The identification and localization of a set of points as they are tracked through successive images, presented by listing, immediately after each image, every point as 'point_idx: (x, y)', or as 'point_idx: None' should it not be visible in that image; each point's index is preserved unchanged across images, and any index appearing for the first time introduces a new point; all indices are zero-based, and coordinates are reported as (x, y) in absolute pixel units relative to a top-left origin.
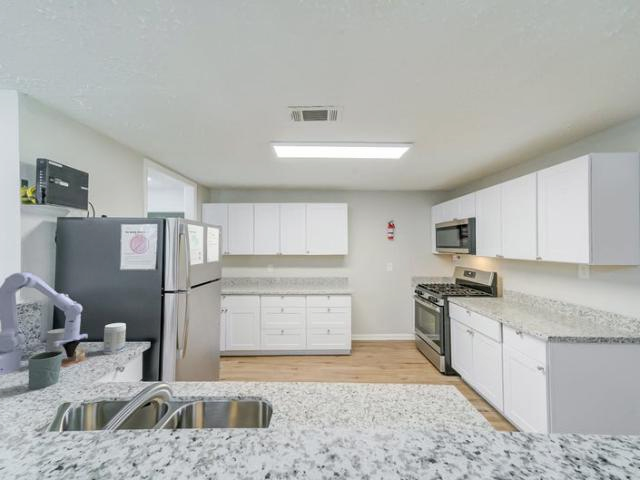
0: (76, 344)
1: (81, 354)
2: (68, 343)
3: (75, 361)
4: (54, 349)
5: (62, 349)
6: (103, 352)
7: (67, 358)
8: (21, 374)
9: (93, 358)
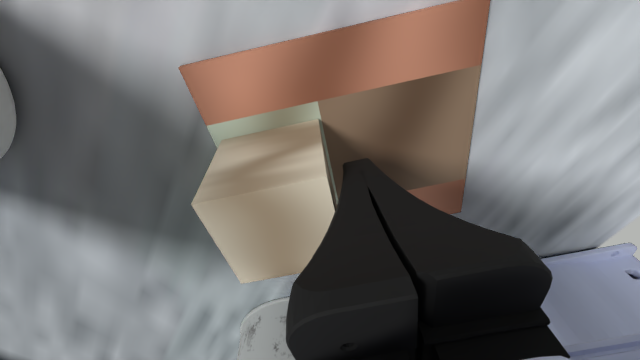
0: (365, 260)
1: (255, 155)
2: (517, 329)
3: (332, 95)
4: None
5: None
6: (6, 100)
7: None
8: (635, 163)
9: (157, 35)
